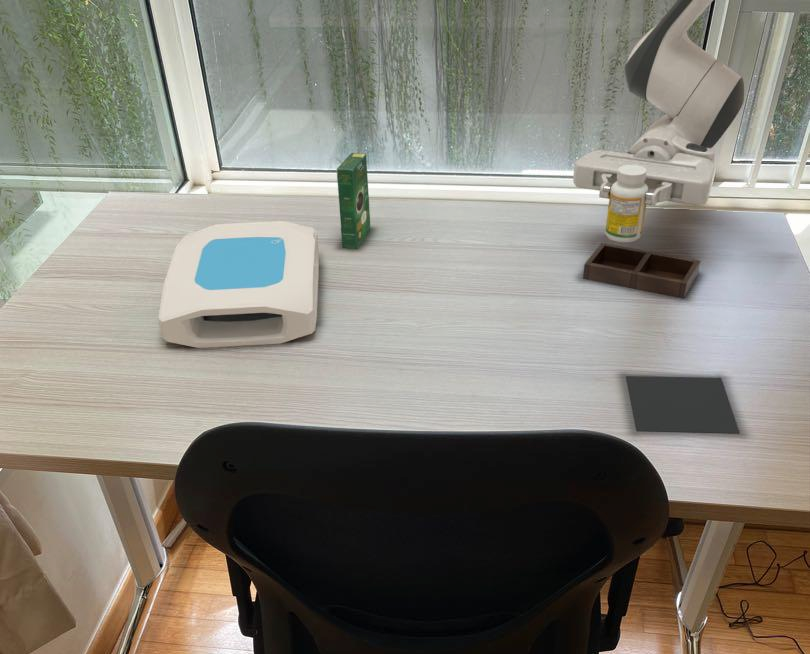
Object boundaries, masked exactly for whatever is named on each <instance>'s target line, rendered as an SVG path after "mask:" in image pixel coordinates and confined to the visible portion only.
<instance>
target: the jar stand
mask: <svg viewBox="0 0 810 654" xmlns="http://www.w3.org/2000/svg"><path fill="white" fill-rule="evenodd" d="M583 265H584V266H583V272H582V273H583V274H582V279H583V280H586V281H587V280H588V281H591V282H598V283H601V284H602V283H603V284H607V285H613V286H618V287H621V288H622V287H623V288H628V289H633V290H637V291H644V292H648V293H653V294H657V295H664V296H669V297H673V298H679V299H685V298H686V296H687V294H688V293H689V291H690V289H691V287H692V285H693V284H694V282H695V280H696V279H697V277H698V274H699V271H700V266H701V260H699V259H695V258H694V259H693V258H689V257H683V256H677V255H674V254H673V255H672V254H667V253H663V252H662V253H661V252H655V251H650V250H644V249H639V248H633V247H629V246H628V247H627V246H622V245H616V244H611V243H606V242H600V244H599V245H598V247H597V248H596V249H595V250H594V251H593V252H592V254H591V255H590V257H588V259H586V261H585V263H584V264H583Z"/></svg>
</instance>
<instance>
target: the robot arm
mask: <svg viewBox="0 0 810 654" xmlns="http://www.w3.org/2000/svg"><path fill="white" fill-rule="evenodd" d="M713 1H714V0H676V1H675V2H674V3H673V5H672V6H671V7H670V9H669V10H668V11H667V12H666V13H665V14H664V16H663V17H662V18H661V19H660V20H659V21H658V23H657V24H656V25H655V26H653V27H652V28H651V29H650V30H648V32H646V33H645V34H644V35H643V36H642V37H641V38H640V40H638V42H637V43H636V44H635V46H634V47H633V48H632V51H631V52H630V53H629V56H628V58H627V60H626V63H625V65H624V75H625V80H626V85H627V88H628V91H629V93H630V94H633V95H635V96H636V97H638V98H640V99H641V100H642V101H645V102H646V103H650V104H651V105H652V106H654V107H655V108H656V109H658V110H660V111H661V112H662V113H664V115H662V116H661V117H659V118H658V119H657V120H655V122H654V123H652V125H650V127H649V128H647V130H646V131H645V133H643V134H642V135H641V136H640V137H639V138H638V139H637V140H636V142H634V144H633V145H631V147H630V148H629V149H628V150H627V152H619V151H612V150H606V149H605V150H604V149H603V150H602V149H599V150H598V149H597V150H593V151H590V152H589V153H587V154H584V155H583V156H582V157H580V158H579V159H578V160H577V161H575V163H574V167H573V178H572V181H573V185H574V186H575V187H576V188H579V189H587V190H592V191H599V193H598V197H599V199H608V200H609V198H610V190H611V187H612V185H613V184H614V183H615V182H617V181H618V180H617V173H618V168H619V167H621V166H624V165H638V166H642V167H644V168H645V169H646V170H647V173H646V179H645V181H644V183H645V184H646V185H647V187H648V191H647V193H646V196H645V198H646V200H645V202H644V204H645V205H646V206H651V207H655V206H656V205H657V204H659V203H663V202H671V203H677V204H685V205H691V206H697V207H698V206H704V205H706V204H707V202H708V201H709V198H710V193H711V189H712V184H713V179H714V173H715V156H716V155H715V154H716V152H715V150H714V149H713V148H714V147H715V145H716V144H717V143H718V142H719V140H721V138H722V137H723V135H724V134H725V132H727V130H728V129H729V127H730V126H731V125H732V123H733V122H734V120H735V119H736V117H737V115H738V114H739V112H740V111H741V108H742V106H743V105H744V101H745V81H744V78H743V77H742V76H741V75H739V74H738V73H737V72H735V70H733V69H732V68H731V67H729V66H728V65H726V64H724V62H722V61H721V60H719V59H716V57H714V56H712V55H711V54H710V53H708V52H707V51H706V50H704V49H703V48H702V47H700V46H699V45H697V44H696V43H695V42H693V41H692V40H691V39H690V37H689V35H688V30H689V29H690V28H691V27H692V25H693V24H694V23H695V22H696V21H697V20H698V19H699V17H701V15H702V14H703V13H704V12H705V11H706V10H707V8H708V7H709V6H710V5H711V4H712V3H713Z"/></svg>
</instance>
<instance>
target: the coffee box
mask: <svg viewBox="0 0 810 654" xmlns="http://www.w3.org/2000/svg"><path fill="white" fill-rule="evenodd" d="M367 163H368V161H367V153H364V152H363V153H362V152H351V153H350V154H349V155H348V156H347V157H346V158H345V159H344V160H343V161H342V162H341V163H340V165H339V166H338V167H337V168H336V180H337V181H336V182H337V192H338V205H339V218H340V221H339V222H340V232H341V233H340V234H341V248H342V249H348V250H358V249H359V248H360V246H361V244H362V243H363V242H364V241H365V239H366V238H367V237H368V235H369V233H370V232H371V212H370V211H371V210H370V196H369V179H368V164H367Z"/></svg>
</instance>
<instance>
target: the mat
mask: <svg viewBox="0 0 810 654" xmlns="http://www.w3.org/2000/svg"><path fill="white" fill-rule="evenodd" d="M625 380H626V385H627V390H628V396H629V401H630V405H631V406H630V407H631V412H632V417H633V422H634V427H635V431H636V432H643V433H645V432H646V433H647V432H649V433H650V432H651V433H689V434H690V433H692V434H728V435H729V434H733V435H735V434H736V435H737V434H738V435H740V434H741V433H740V430H739V426H738V424H737V421H736V417H735V415H734V412H733V409H732V405H731V402H730V400H729V397H728V394H727V391H726V388H725V385H724V382H723V379H722V377H704V376H703V377H701V376H699V377H698V376H650V375H649V376H643V375H625Z"/></svg>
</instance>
